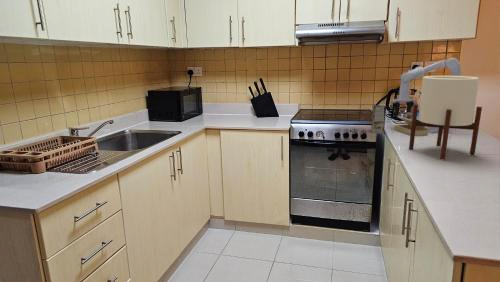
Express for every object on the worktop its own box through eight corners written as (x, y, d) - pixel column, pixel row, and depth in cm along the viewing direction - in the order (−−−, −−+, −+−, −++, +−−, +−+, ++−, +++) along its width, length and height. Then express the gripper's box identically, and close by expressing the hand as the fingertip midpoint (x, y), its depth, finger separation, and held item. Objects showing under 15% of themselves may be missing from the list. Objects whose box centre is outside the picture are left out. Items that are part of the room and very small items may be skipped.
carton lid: (408, 124, 216) (412, 117, 216) (428, 130, 199) (432, 123, 199) (397, 116, 213) (401, 110, 213) (416, 122, 196) (420, 115, 196)
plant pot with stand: (438, 144, 180) (447, 75, 171) (479, 155, 160) (491, 77, 151) (404, 148, 173) (412, 76, 164) (442, 161, 152) (453, 79, 143)
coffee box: (384, 133, 205) (386, 106, 201) (373, 133, 206) (375, 106, 202) (381, 130, 214) (384, 104, 210) (371, 130, 215) (373, 104, 211)
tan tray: (408, 129, 217) (408, 124, 216) (427, 135, 200) (428, 130, 199) (393, 129, 215) (394, 125, 214) (412, 136, 198) (412, 131, 197)
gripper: (410, 91, 219) (408, 112, 222) (390, 91, 216) (388, 113, 219) (418, 92, 212) (415, 114, 215) (397, 93, 209) (394, 115, 213)
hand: (402, 113), depth 217 cm, fingers open, 7 cm apart
